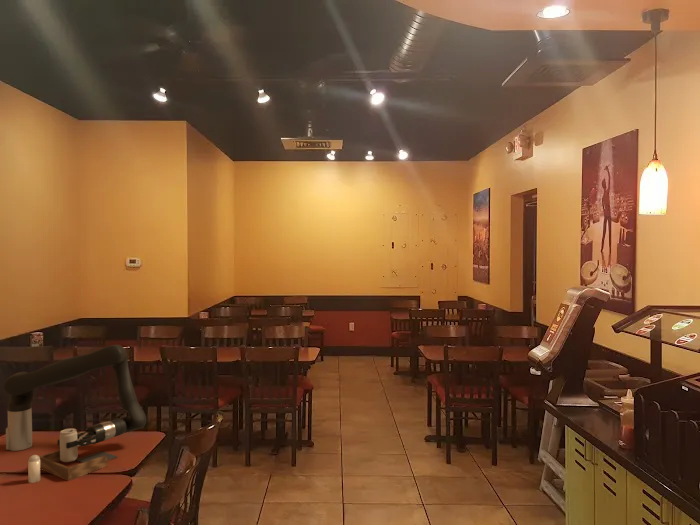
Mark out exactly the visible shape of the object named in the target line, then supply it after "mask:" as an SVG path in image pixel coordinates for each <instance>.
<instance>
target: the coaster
mask: <svg viewBox="0 0 700 525" xmlns="http://www.w3.org/2000/svg"><path fill="white" fill-rule="evenodd" d="M105 455H106V456H107V460H110V459H113V460H115V459H114V458H116V459H118V458H119V456H117V455H115V454H112V453H109V452H106V451H104V450H100V451H96V452H94V453H90V454H88V455H85V456H81V457H78V458H76V460H77V461H76V462H78V461H79V462H78V463H80V462H82V463H84V462H87V461H90V460H93V459H96V458H99V457H102V456H105ZM117 457H118V458H117ZM110 461H111V460H110Z"/></svg>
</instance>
